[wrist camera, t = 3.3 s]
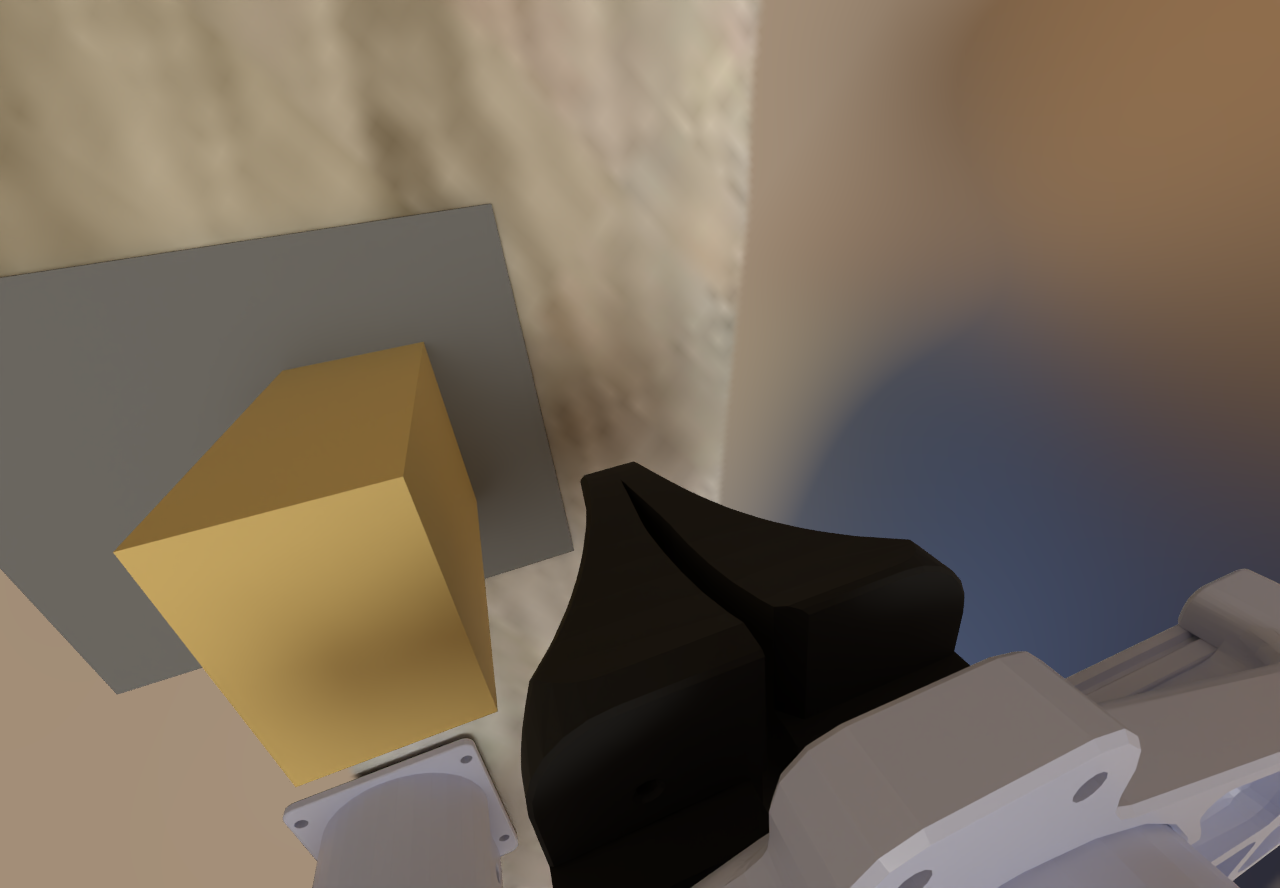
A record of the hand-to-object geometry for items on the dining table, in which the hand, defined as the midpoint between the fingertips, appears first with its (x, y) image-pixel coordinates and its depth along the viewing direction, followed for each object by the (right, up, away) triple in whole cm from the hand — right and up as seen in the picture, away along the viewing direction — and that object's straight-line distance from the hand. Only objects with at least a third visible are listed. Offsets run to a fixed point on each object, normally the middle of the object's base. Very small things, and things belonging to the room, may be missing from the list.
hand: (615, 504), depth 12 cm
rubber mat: (-11, +1, +4) cm, 11 cm away
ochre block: (-8, +1, +5) cm, 9 cm away
